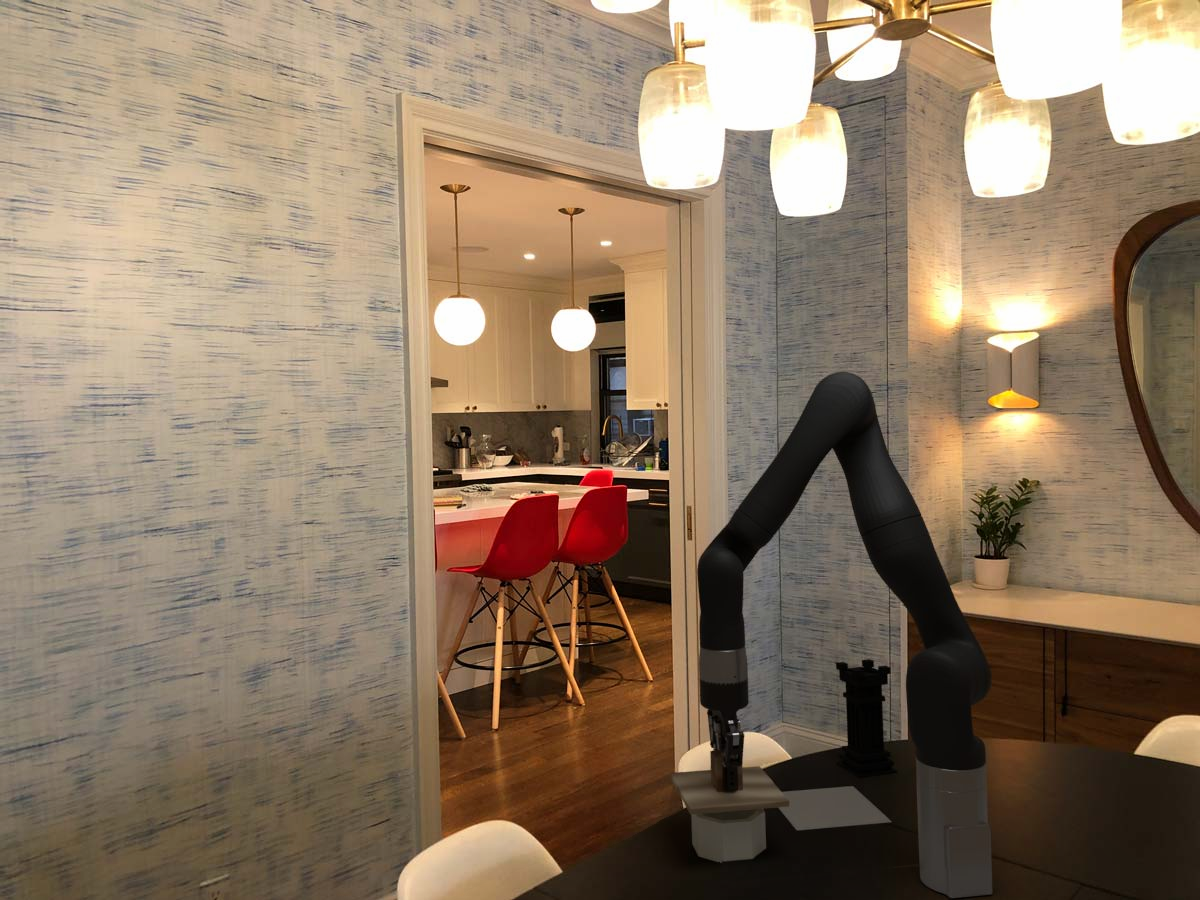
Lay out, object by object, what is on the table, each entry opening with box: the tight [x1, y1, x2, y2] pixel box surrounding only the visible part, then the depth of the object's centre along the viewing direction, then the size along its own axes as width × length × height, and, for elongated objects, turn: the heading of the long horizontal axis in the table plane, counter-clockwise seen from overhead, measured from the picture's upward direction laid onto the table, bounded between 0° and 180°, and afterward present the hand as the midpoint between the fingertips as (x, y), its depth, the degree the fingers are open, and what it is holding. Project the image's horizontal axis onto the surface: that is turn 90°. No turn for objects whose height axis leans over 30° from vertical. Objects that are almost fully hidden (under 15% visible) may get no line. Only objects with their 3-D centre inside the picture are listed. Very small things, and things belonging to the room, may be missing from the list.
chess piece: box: [835, 658, 898, 779], centre depth 172 cm, size 8×8×20 cm
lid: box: [669, 750, 789, 815], centre depth 141 cm, size 15×15×6 cm
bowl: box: [690, 809, 767, 864], centre depth 141 cm, size 11×11×6 cm
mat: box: [777, 785, 892, 831], centre depth 155 cm, size 16×16×1 cm
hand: (726, 784), depth 141 cm, fingers closed on lid, 4 cm apart
